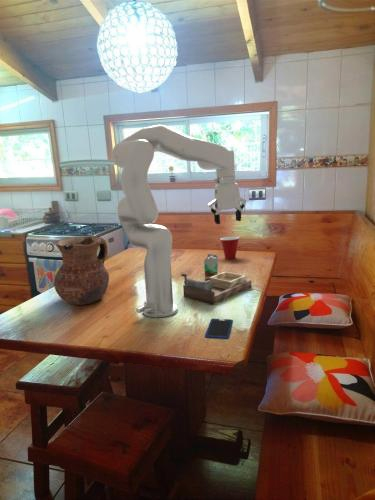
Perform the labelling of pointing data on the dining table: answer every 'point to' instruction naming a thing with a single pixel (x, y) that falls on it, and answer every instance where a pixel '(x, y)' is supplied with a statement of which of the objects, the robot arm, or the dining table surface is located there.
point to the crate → (227, 280)
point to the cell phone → (219, 328)
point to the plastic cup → (229, 246)
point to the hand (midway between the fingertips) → (228, 222)
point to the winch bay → (214, 293)
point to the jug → (82, 270)
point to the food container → (211, 266)
